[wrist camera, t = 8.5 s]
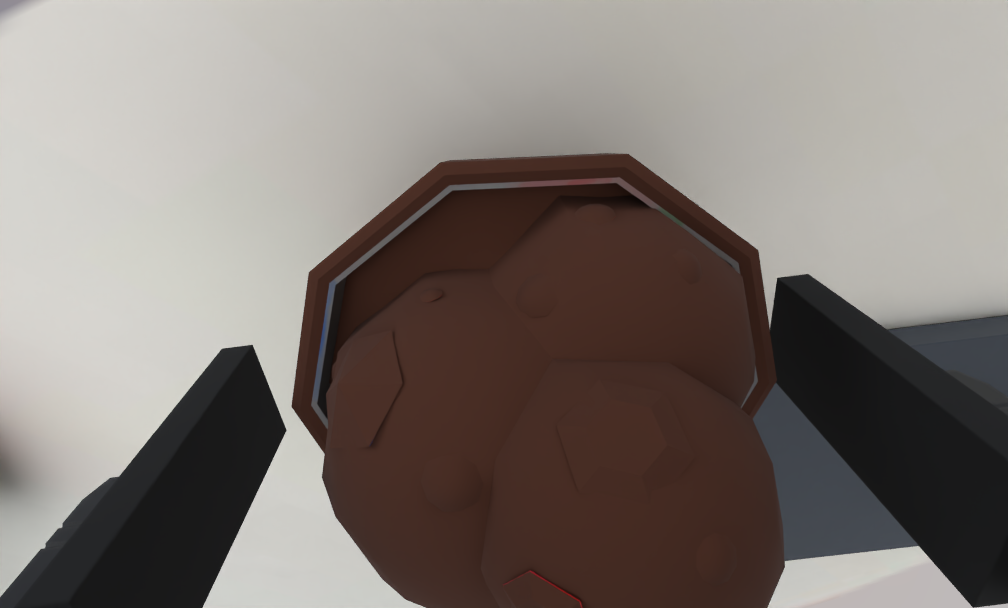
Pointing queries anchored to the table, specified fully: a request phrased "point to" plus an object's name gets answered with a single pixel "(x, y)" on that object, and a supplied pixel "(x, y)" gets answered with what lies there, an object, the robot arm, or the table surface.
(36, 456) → the table surface
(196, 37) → the table surface
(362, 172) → the table surface
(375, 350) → the ice cream bowl
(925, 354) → the scale
